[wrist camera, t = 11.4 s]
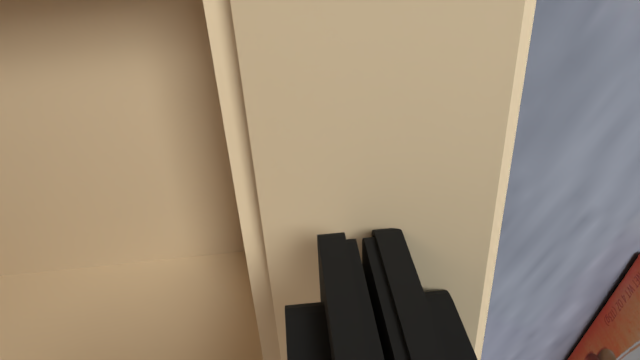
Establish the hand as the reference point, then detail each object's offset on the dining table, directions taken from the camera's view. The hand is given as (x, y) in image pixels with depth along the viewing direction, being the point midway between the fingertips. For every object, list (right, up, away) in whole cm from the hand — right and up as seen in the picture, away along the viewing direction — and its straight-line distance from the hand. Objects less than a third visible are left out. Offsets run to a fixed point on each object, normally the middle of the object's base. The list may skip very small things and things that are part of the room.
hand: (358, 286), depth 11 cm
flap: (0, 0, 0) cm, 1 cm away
